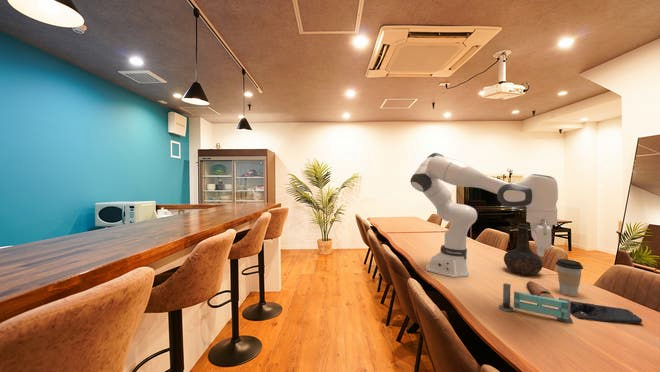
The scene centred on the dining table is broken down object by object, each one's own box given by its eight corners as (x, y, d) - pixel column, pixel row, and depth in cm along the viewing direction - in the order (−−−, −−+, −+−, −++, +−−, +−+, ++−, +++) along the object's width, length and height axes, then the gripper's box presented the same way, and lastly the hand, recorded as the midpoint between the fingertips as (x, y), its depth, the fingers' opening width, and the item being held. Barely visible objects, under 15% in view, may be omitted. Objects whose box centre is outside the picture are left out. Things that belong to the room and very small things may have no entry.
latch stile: (557, 319, 98) (557, 300, 97) (555, 315, 101) (556, 296, 100) (572, 323, 95) (573, 303, 95) (570, 319, 98) (571, 299, 98)
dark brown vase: (540, 271, 150) (541, 223, 150) (545, 281, 135) (546, 227, 135) (503, 265, 160) (504, 220, 159) (503, 274, 145) (505, 224, 144)
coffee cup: (587, 299, 115) (589, 265, 115) (563, 297, 117) (564, 264, 116) (572, 290, 124) (573, 259, 124) (550, 288, 126) (550, 257, 126)
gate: (514, 307, 103) (514, 292, 103) (513, 305, 105) (514, 291, 105) (567, 319, 95) (568, 303, 95) (566, 317, 97) (566, 301, 96)
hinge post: (498, 309, 105) (499, 285, 105) (499, 304, 109) (499, 281, 109) (514, 313, 102) (514, 288, 102) (513, 308, 106) (514, 283, 106)
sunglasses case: (561, 306, 108) (551, 290, 110) (543, 311, 111) (533, 296, 112) (547, 289, 124) (539, 276, 126) (531, 294, 127) (523, 281, 128)
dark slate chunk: (651, 331, 92) (652, 317, 92) (573, 319, 99) (573, 307, 99) (620, 310, 106) (620, 299, 106) (554, 301, 113) (554, 290, 113)
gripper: (558, 222, 86) (556, 264, 86) (548, 215, 103) (547, 250, 103) (533, 221, 89) (532, 261, 89) (528, 214, 106) (527, 248, 106)
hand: (540, 255), depth 96 cm, fingers closed
